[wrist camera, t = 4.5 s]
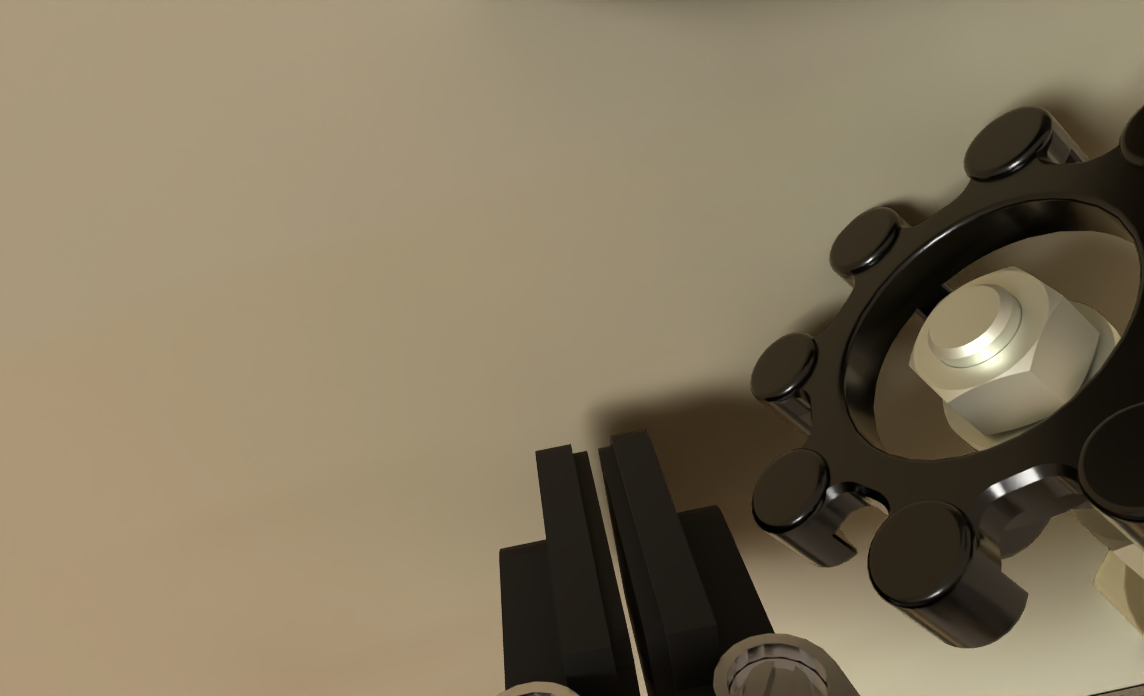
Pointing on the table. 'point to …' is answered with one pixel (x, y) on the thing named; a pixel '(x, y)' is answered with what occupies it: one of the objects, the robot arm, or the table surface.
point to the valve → (973, 391)
